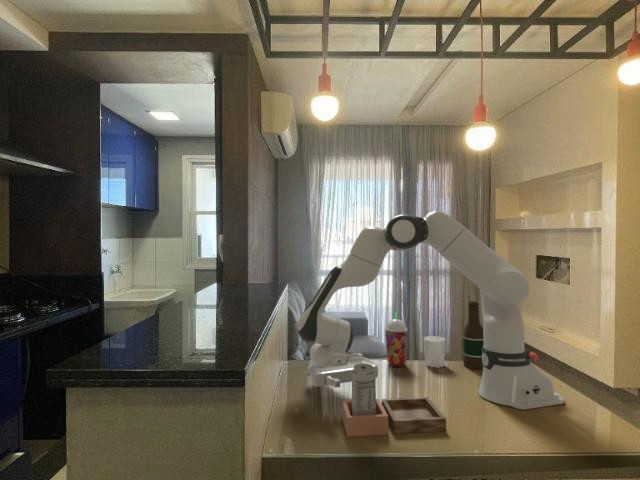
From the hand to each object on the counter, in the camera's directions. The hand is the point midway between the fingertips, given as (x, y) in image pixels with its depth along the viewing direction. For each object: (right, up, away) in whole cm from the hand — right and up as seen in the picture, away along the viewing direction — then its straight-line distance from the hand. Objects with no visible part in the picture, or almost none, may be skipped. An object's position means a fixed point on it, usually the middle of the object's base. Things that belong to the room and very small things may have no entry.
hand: (354, 382), depth 101 cm
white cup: (+34, -9, +40) cm, 53 cm away
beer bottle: (+48, -9, +38) cm, 62 cm away
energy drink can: (+2, -9, -6) cm, 11 cm away
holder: (+2, -9, -6) cm, 11 cm away
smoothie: (+20, -9, +41) cm, 47 cm away
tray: (+15, -9, -3) cm, 17 cm away
